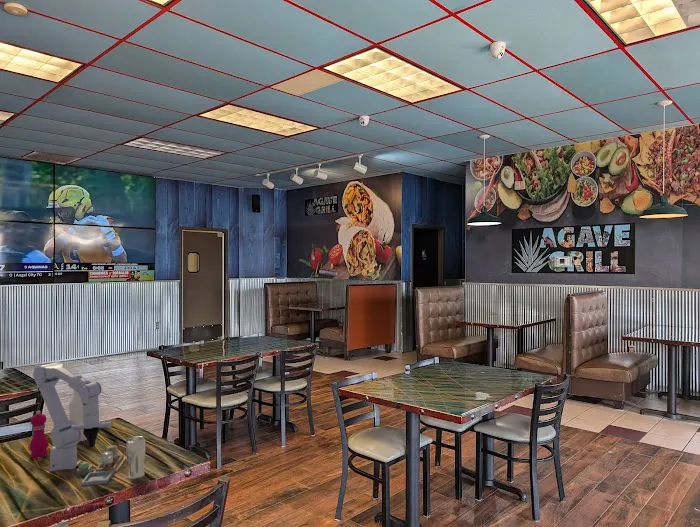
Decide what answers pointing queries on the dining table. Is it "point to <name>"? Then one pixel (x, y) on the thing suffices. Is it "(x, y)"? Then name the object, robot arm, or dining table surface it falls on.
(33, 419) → the pepper mill
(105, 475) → the tray
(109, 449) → the light brown divided box
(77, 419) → the alcohol
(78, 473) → the switch box
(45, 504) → the dining table surface
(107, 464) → the cylinder
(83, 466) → the button
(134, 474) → the beer glass
